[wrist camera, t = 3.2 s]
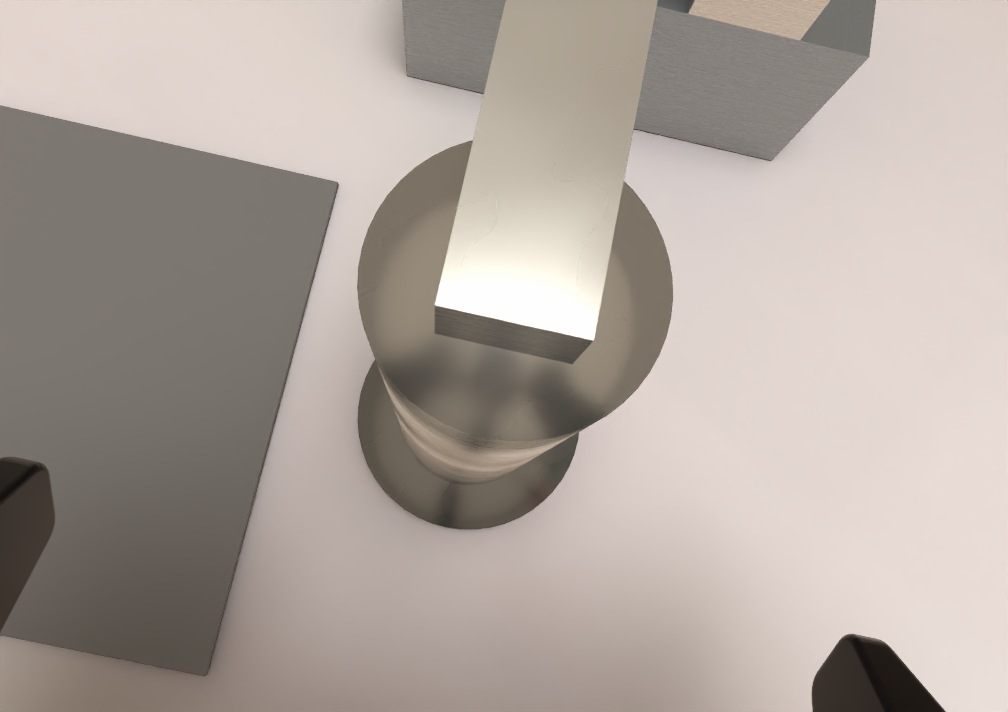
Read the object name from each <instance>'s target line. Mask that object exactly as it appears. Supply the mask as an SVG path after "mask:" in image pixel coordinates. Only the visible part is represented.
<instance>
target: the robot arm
mask: <svg viewBox="0 0 1008 712" xmlns="http://www.w3.org/2000/svg"><path fill="white" fill-rule="evenodd" d="M55 518H56V516H55V507H54V501H53V494H52V487H51V480H50V474H49V470H48V469H47V467H46V466H45V465H44V464H42V463H40V462H36V461H31V460H27V459H22V458H17V457H3V458H0V633H1V631H2V629H3V627H4V625H5V623H6V621H7V619H8V617H9V615H10V614H11V612H12V610H13V608H14V606H15V604H16V602H17V600H18V598H19V596H20V595H21V593H22V591H23V589H24V587H25V585H26V583H27V581H28V579H29V577H30V576H31V574H32V572H33V570H34V568H35V566H36V564H37V562H38V560H39V559H40V557H41V555H42V553H43V551H44V549H45V547H46V545H47V543H48V541H49V539H50V537H51V535H52V532H53V530H54V526H55ZM812 707H813V712H946V711H945V710H944V709H943V708H942V707H941V706H940V704H939V703H938V702H937V701H936V700H935V699H934V697H933V696H932V695H931V694H930V693H929V692H928V690H927V689H926V688H925V687H924V686H923V685H922V683H921V682H920V681H919V680H918V679H917V678H916V677H915V675H914V674H913V673H912V672H911V671H910V670H909V668H908V667H907V666H906V665H905V664H904V663H903V661H902V660H901V659H900V658H899V657H898V656H897V654H896V653H895V652H894V651H893V650H892V649H891V648H890V647H889V646H888V645H887V644H886V643H885V642H883V641H881V640H879V639H875V638H870V637H865V636H861V635H856V634H848V635H846V636H844V637H842V638H841V639H840V641H839V642H838V643H837V645H836V646H835V648H834V649H833V651H832V652H831V653H830V655H829V656H828V658H827V659H826V661H825V662H824V663H823V665H822V666H821V668H820V669H819V671H818V672H817V674H816V676H815V678H814V681H813V686H812Z"/></svg>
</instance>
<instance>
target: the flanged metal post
mask: <svg viewBox="0 0 1008 712" xmlns="http://www.w3.org/2000/svg"><path fill="white" fill-rule="evenodd" d="M657 1H658V0H506V2H505V6H504V10H503V14H502V19H501V23H500V27H499V32H498V36H497V40H496V44H495V49H494V53H493V57H492V62H491V66H490V70H489V74H488V79H487V83H486V87H485V92H484V96H483V100H482V104H481V109H480V113H479V117H478V122H477V126H476V130H475V134H474V139H473V141H468V142H465V143H462V144H459V145H456V146H453V147H450V148H448V149H446V150H444V151H442V152H440V153H438V154H436V155H434V156H432V157H431V158H429V159H428V160H426V161H424V162H423V163H421V164H420V165H418V166H417V167H416V168H414V169H413V170H412V171H411V172H410V173H409V174H407V175H406V176H405V177H404V178H403V179H402V180H401V181H400V182H399V183H398V184H397V185H396V186H395V187H394V188H393V190H392V191H391V192H390V193H389V194H388V195H387V197H386V198H385V200H384V201H383V203H382V204H381V206H380V207H379V209H378V210H377V212H376V214H375V216H374V218H373V220H372V222H371V224H370V226H369V228H368V231H367V234H366V237H365V240H364V243H363V246H362V250H361V256H360V261H359V267H358V286H357V289H358V300H359V309H360V313H361V318H362V322H363V326H364V330H365V332H366V335H367V338H368V340H369V343H370V346H371V349H372V351H373V354H374V357H375V361H374V363H373V364H372V366H371V368H370V370H369V372H368V374H367V376H366V378H365V382H364V385H363V388H362V391H361V395H360V401H359V407H358V428H359V437H360V442H361V446H362V450H363V453H364V456H365V458H366V461H367V464H368V466H369V468H370V470H371V471H372V473H373V475H374V477H375V478H376V480H377V481H378V483H379V484H380V485H381V487H382V488H383V489H384V490H385V492H386V493H387V494H388V495H389V496H390V497H391V498H392V499H393V500H394V501H395V502H397V503H398V504H399V505H400V506H402V507H403V508H404V509H405V510H407V511H409V512H410V513H412V514H414V515H415V516H417V517H419V518H421V519H424V520H426V521H428V522H430V523H433V524H437V525H440V526H444V527H449V528H456V529H482V528H490V527H494V526H498V525H501V524H505V523H507V522H510V521H512V520H515V519H517V518H519V517H521V516H523V515H524V514H526V513H528V512H529V511H531V510H533V509H534V508H535V507H536V506H538V505H539V504H540V503H542V502H543V501H544V500H545V499H546V498H547V497H548V496H549V495H550V494H551V493H552V492H553V491H554V489H555V488H556V487H557V485H558V484H559V483H560V481H561V480H562V478H563V477H564V475H565V473H566V471H567V469H568V468H569V466H570V463H571V461H572V458H573V456H574V453H575V449H576V445H577V441H578V435H579V432H580V431H581V430H583V429H585V428H586V427H588V426H590V425H592V424H593V423H595V422H597V421H598V420H600V419H602V418H603V417H605V416H607V415H608V414H609V413H611V412H612V411H613V410H615V409H616V408H617V407H619V406H620V405H621V404H623V403H624V402H625V401H626V400H627V399H628V398H629V397H630V396H631V395H632V394H633V393H634V392H635V391H636V390H637V389H638V387H639V386H640V385H641V383H642V382H643V381H644V379H645V378H646V377H647V375H648V374H649V373H650V371H651V369H652V367H653V365H654V364H655V362H656V360H657V358H658V356H659V354H660V352H661V349H662V347H663V344H664V341H665V339H666V336H667V332H668V328H669V324H670V319H671V312H672V302H673V284H672V273H671V267H670V261H669V257H668V253H667V250H666V247H665V244H664V240H663V238H662V236H661V234H660V231H659V229H658V227H657V225H656V222H655V221H654V219H653V217H652V216H651V214H650V212H649V211H648V209H647V208H646V206H645V204H644V203H643V202H642V201H641V199H640V198H639V197H638V196H637V194H636V193H635V192H634V191H633V189H631V188H630V187H629V186H628V185H627V184H626V183H625V182H624V177H625V172H626V166H627V161H628V156H629V150H630V145H631V140H632V134H633V129H634V124H635V118H636V113H637V108H638V102H639V97H640V92H641V87H642V81H643V76H644V71H645V65H646V60H647V55H648V49H649V44H650V39H651V33H652V28H653V23H654V17H655V12H656V7H657Z"/></svg>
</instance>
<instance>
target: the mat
mask: <svg viewBox="0 0 1008 712" xmlns="http://www.w3.org/2000/svg"><path fill="white" fill-rule="evenodd" d="M338 186H339V185H338V182H335V181H330V180H326V179H321V178H317V177H313V176H308V175H304V174H299V173H295V172H291V171H286V170H282V169H277V168H273V167H269V166H264V165H260V164H255V163H251V162H247V161H242V160H238V159H233V158H229V157H225V156H220V155H216V154H212V153H207V152H203V151H198V150H194V149H190V148H185V147H181V146H176V145H172V144H168V143H163V142H159V141H154V140H150V139H146V138H141V137H137V136H132V135H128V134H124V133H119V132H115V131H110V130H106V129H102V128H97V127H93V126H88V125H84V124H80V123H75V122H71V121H66V120H62V119H58V118H53V117H49V116H44V115H40V114H36V113H31V112H27V111H22V110H18V109H14V108H9V107H5V106H0V458H3V457H17V458H22V459H27V460H31V461H36V462H40V463H42V464H44V465H45V466H46V467H47V469H48V470H49V474H50V480H51V487H52V494H53V501H54V507H55V516H56V518H55V526H54V530H53V532H52V535H51V537H50V539H49V541H48V543H47V545H46V547H45V549H44V551H43V553H42V555H41V557H40V559H39V560H38V562H37V564H36V566H35V568H34V570H33V572H32V574H31V576H30V577H29V579H28V581H27V583H26V585H25V587H24V589H23V591H22V593H21V595H20V596H19V598H18V600H17V602H16V604H15V606H14V608H13V610H12V612H11V614H10V615H9V617H8V619H7V621H6V623H5V625H4V627H3V629H2V631H1V633H0V635H3V636H8V637H13V638H18V639H23V640H28V641H33V642H37V643H42V644H47V645H52V646H57V647H62V648H67V649H72V650H77V651H82V652H87V653H92V654H97V655H102V656H107V657H112V658H117V659H122V660H127V661H132V662H137V663H142V664H147V665H152V666H156V667H161V668H166V669H171V670H176V671H181V672H186V673H191V674H196V675H201V676H205V675H207V673H208V669H209V665H210V661H211V658H212V654H213V650H214V647H215V643H216V639H217V635H218V632H219V628H220V624H221V621H222V617H223V613H224V609H225V606H226V602H227V598H228V594H229V591H230V587H231V583H232V580H233V576H234V572H235V568H236V565H237V561H238V557H239V554H240V550H241V546H242V542H243V539H244V535H245V531H246V528H247V524H248V520H249V516H250V513H251V509H252V505H253V502H254V498H255V494H256V490H257V487H258V483H259V479H260V476H261V472H262V468H263V464H264V461H265V457H266V453H267V449H268V446H269V442H270V438H271V435H272V431H273V427H274V423H275V420H276V416H277V412H278V409H279V405H280V401H281V397H282V394H283V390H284V386H285V383H286V379H287V375H288V371H289V368H290V364H291V360H292V357H293V353H294V349H295V345H296V342H297V338H298V334H299V331H300V327H301V323H302V319H303V316H304V312H305V308H306V305H307V301H308V297H309V293H310V290H311V286H312V282H313V278H314V275H315V271H316V267H317V264H318V260H319V256H320V252H321V249H322V245H323V241H324V238H325V234H326V230H327V226H328V223H329V219H330V215H331V212H332V208H333V204H334V200H335V197H336V193H337V189H338Z"/></svg>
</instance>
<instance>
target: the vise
mask: <svg viewBox="0 0 1008 712" xmlns="http://www.w3.org/2000/svg"><path fill="white" fill-rule="evenodd" d="M505 2H506V0H402V4H403V20H404V35H405V50H406V65H407V76H411V77H415V78H419V79H424V80H428V81H432V82H436V83H441V84H445V85H449V86H454V87H458V88H462V89H466V90H471V91H475V92H479V93H484V92H485V87H486V83H487V79H488V74H489V70H490V66H491V62H492V57H493V53H494V49H495V44H496V40H497V36H498V32H499V27H500V23H501V19H502V14H503V10H504V6H505ZM875 4H876V0H658V1H657V7H656V12H655V17H654V23H653V28H652V33H651V39H650V44H649V49H648V55H647V60H646V65H645V71H644V76H643V81H642V87H641V92H640V97H639V102H638V108H637V113H636V118H635V124H634V129H638V130H642V131H646V132H651V133H655V134H659V135H663V136H668V137H672V138H676V139H681V140H685V141H689V142H693V143H698V144H702V145H706V146H711V147H715V148H719V149H723V150H728V151H732V152H736V153H741V154H745V155H749V156H753V157H758V158H762V159H766V160H770V161H772V160H773V159H774V157H775V156H776V155H777V154H778V153H779V152H780V151H781V150H782V149H783V148H784V147H785V146H786V145H787V144H788V143H789V142H790V140H791V139H792V138H793V137H794V136H795V135H796V134H797V133H798V132H799V131H800V130H801V129H802V128H803V127H804V126H805V125H806V123H807V122H808V121H809V120H810V119H811V118H812V117H813V116H814V115H815V114H816V113H817V112H818V111H819V110H820V109H821V108H822V107H823V105H824V104H825V103H826V102H827V101H828V100H829V99H830V98H831V97H832V96H833V95H834V94H835V93H836V92H837V91H838V90H839V88H840V87H841V86H842V85H843V84H844V83H845V82H846V81H847V80H848V79H849V78H850V77H851V76H852V75H853V74H854V73H855V71H856V70H857V69H858V68H859V67H860V66H861V65H862V64H863V63H864V62H865V61H866V60H867V59H868V58H869V53H870V45H871V37H872V29H873V21H874V12H875Z"/></svg>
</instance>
